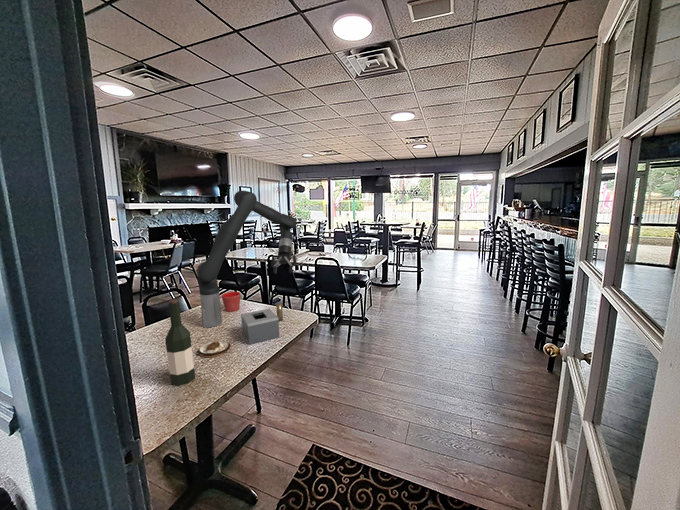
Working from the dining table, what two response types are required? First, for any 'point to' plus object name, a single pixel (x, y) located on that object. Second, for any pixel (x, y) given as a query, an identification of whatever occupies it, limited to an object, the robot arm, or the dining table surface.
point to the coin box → (260, 326)
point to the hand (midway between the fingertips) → (282, 273)
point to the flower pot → (231, 301)
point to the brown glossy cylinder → (279, 312)
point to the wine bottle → (179, 348)
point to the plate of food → (214, 348)
